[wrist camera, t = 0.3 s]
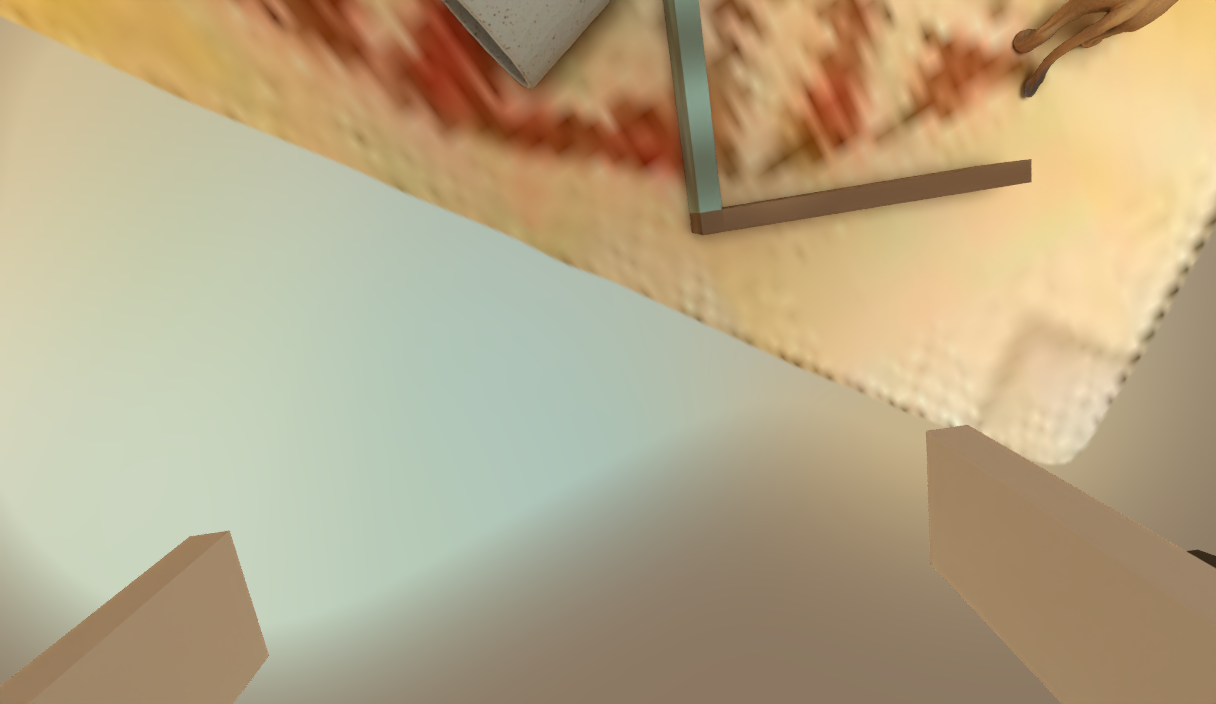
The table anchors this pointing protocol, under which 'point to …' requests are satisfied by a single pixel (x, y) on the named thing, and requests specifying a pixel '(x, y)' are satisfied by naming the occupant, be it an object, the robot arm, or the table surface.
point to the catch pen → (716, 218)
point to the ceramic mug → (526, 31)
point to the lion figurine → (1087, 28)
